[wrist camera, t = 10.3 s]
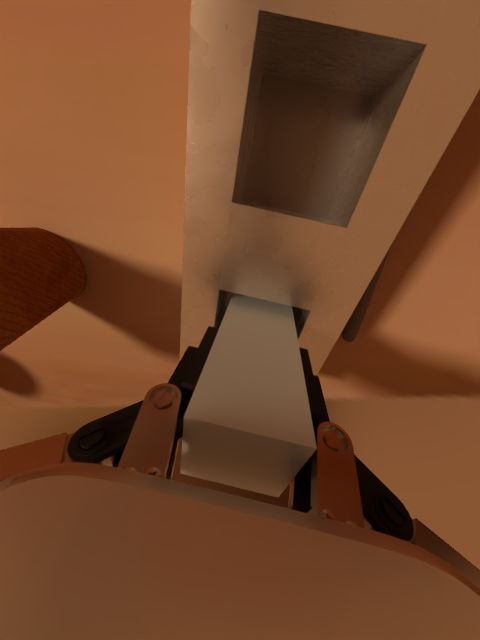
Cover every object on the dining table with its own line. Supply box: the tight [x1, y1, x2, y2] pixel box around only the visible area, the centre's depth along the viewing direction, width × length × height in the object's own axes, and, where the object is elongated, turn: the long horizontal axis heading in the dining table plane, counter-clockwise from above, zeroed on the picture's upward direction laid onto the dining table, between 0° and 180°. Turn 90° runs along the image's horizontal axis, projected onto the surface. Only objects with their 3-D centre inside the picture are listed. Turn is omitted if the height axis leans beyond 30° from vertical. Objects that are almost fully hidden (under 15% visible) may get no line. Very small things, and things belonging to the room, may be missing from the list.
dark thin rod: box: [342, 248, 390, 342], centre depth 14 cm, size 15×1×1 cm, turn 179°
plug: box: [181, 293, 317, 497], centre depth 11 cm, size 5×4×10 cm
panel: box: [179, 0, 480, 376], centre depth 13 cm, size 20×10×5 cm, turn 169°
